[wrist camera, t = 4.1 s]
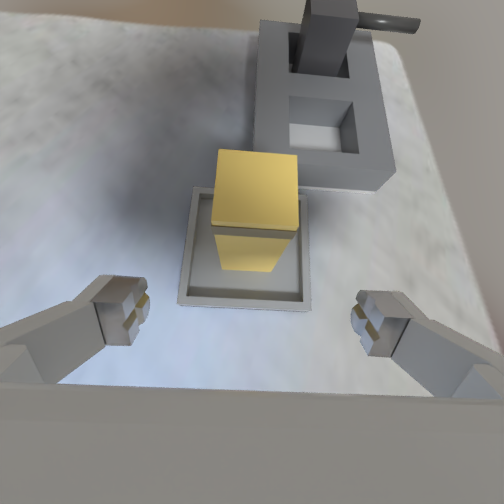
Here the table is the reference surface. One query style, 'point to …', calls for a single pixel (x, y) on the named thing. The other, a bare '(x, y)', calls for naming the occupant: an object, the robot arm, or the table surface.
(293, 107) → the grey socket block
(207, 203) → the tray
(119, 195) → the table surface
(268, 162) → the plug
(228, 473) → the robot arm
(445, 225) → the table surface
